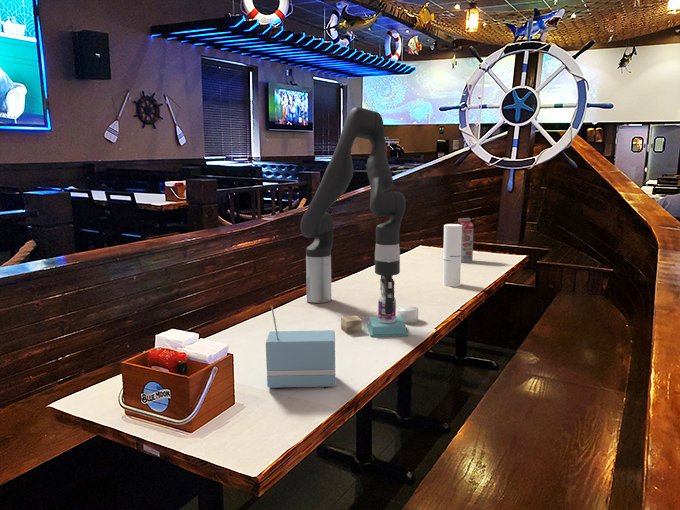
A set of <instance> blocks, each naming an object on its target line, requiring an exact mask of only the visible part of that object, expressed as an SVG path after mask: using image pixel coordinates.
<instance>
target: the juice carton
mask: <svg viewBox="0 0 680 510" xmlns="http://www.w3.org/2000/svg"><path fill="white" fill-rule="evenodd" d="M455 224H459V225H462V240H461V264H463V263H473V254H474V253H473V251H474V224H473V222H472V221H471V217H460V218H458V221H457V222H455Z"/></svg>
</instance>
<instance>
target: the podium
mask: <svg viewBox="0 0 680 510" xmlns="http://www.w3.org/2000/svg"><path fill="white" fill-rule="evenodd" d="M368 322H369V323H367V329H368V332H369V336H370V338H383V337H385V338H387V337H388V338H389V337H408V336H409V334H408V332H407V329H406V328H407V326H406V323H404V322H403V320H402V318H401V316H397V315H396V319H395V322H393V323H381V322H379V320H378V316H369V321H368Z"/></svg>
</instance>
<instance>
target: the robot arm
mask: <svg viewBox="0 0 680 510" xmlns="http://www.w3.org/2000/svg"><path fill="white" fill-rule="evenodd" d="M357 138H360V139H365V140H369V142H370V145H371V152H370V153H369V156H368V158H367V161H366V167H365V169H366V173H367V178H368V181H369V185H370V197H369V199H370V200H369V209H370V211H371V213H372V214H373V215H374V216H376V217H382V216H383V217H385V216H387V217H388V216H389V219H388V220H387V221H385V222H382V223H380V224H377V225H376V227H375V246H374V247H375V248H374V272H375V274H376V275H378V276H380V278H379V283H380V285H379V287H380V289H379V290H380V291H381V290H382V291H383V295H384V296H385V314H392V313H393V302H394V300H395V299H396V298H395V299H394V297H395V285H396V284H395V279H394V278H393V277H394V276H397V275H399V274H400V272H401V270H400V269H401V268H400V267H401V266H400V265H401V264H400V263H401V258H400V257H401V249H400V229H401V225H402V221H403V220H402V219H403V217H404V215H405V210H406V203H407V202H406V198H405V196H404V194H403V193H402V192H401V191H389V190H390V189H391V188H392V187H393V185H394V178H393V175H392V172H391V168H390V165H389V164H390V163H389V160H388V157H387V155H388V154H387V146H386V134H385V125H384V120H383V117H382V115H381V114H380V113H379V112H378V111H374V110H371V109H367V108H363V107H360V106H355V107H352V108H351V109H350V111H349V112H348V115H347V116H346V119H345V122H344V124H343V126H342V131H341V133H340V136H339V139H338V142H337V144H336V147H335V149H334V151H333V155H332V156H331V159H330V161H329V163H328V164H327V167H326V169H325V171H324V174H323V176H322V179H321V181H320V183H319V186H318V187H317V190H316V192H315V194H314V196H313V197H312V200H311V201H310V203H309V204H308V207H307V208H306V210H305V212H304V213H303V215H302V218H301V220H300V227H299V228H300V232H301V234H302V235H303V237H305V238H309V239H314V240H313V242H312V243H311V244H310V245H308V246H307V247H306V248H305V266H306V267H305V271H306V272H305V274H306V277H305V279H306V281H305V283H306V302H307V303H313V304H325V303H328V302H331V301H332V254H331V253H332V249H333V244H334V220H333V218H332V215H331V214H330V213H329V212H327V211H328V209H329V208H330V207H331V206H333V204H334V203H336V201H338V200H339V199H340V198H341V197H342V196H343V195H344V193H345V192H346V191H347V189H348V187H349V185H350V183H351V181H352V179H353V175H354V163H353V159H352V149H353V144H354V142H355V140H356V139H357ZM388 295H391V298H388Z"/></svg>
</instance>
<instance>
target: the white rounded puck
mask: <svg viewBox="0 0 680 510" xmlns="http://www.w3.org/2000/svg"><path fill="white" fill-rule="evenodd" d="M396 316H401V318H402V320H403V322H404V324H405V325H406V324H407V325H410V324H415V323H418V322H419V308H418V307H416V306H412V305H402V306H399V307H397V308H396Z"/></svg>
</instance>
